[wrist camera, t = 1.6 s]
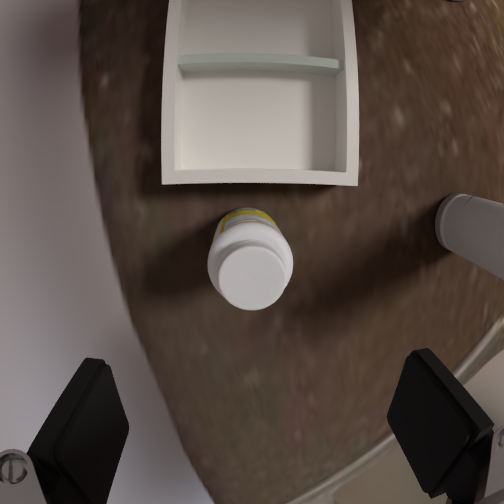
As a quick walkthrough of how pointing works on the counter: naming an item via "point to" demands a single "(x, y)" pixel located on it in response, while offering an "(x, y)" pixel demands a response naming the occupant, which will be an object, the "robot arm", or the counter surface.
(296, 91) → the bay tray
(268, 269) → the supplement bottle
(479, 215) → the travel mug
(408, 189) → the counter surface
